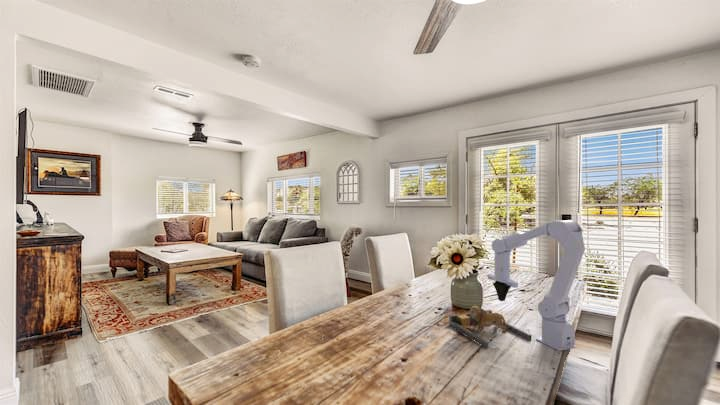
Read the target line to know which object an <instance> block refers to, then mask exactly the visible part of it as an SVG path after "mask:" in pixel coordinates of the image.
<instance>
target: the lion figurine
mask: <svg viewBox="0 0 720 405" xmlns="http://www.w3.org/2000/svg"><path fill="white" fill-rule="evenodd" d="M469 313H470V315H471V317H472V318H474V319H475V321H477V322H479V323H478V325H477V328H478V327H481V328H479V331H482V330H483V331H484V329H485V325H484V323H485V322H488V323H491V322H492V323H493V322H494V321H496V324H495V325H496V326H493V329H494V330H498V329H499V327H500V328H502V331H501V333H507V331H509V328H507V327H506V323H507V322H506V320H505V319H506V318H504V316H503V315H502V314H501V313H497V312H492V313H487V312H485V309H484V308H481V307H479V306H477V305H473V306H471V307H470V310H469ZM502 321H503V322H504V324H503V322H502ZM505 322H506V323H505ZM504 325H505V326H504Z"/></svg>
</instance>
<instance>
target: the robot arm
mask: <svg viewBox="0 0 720 405" xmlns="http://www.w3.org/2000/svg"><path fill="white" fill-rule="evenodd" d="M583 231H584V229H583V228H582V227H581V225H580V224H579V223H578V222H577V221H576V220H573V219H567V220H556V219H555V220H552V221H550V222H545V223H543V224H540V225H538V226H536V227H534V228H531V229H530V230H527V231H524V232H523V231H517V230H515V231H512V232H511V234H509V235H503V236H502V238H495V239H494V240H493V241H492V242H491V249H492V250H493V252H494V274H492V273H491V274H487V280H491V281H495V282H492V285H493V287H494V289H495V291H496V295H497V298H498V301H500V302H505V301H506V298H507V295H508V293H509V291H510V289H511V287H512V288H519V282H517V281H516V280H513V279H512V278H511V277H510V275H511V274H510V272H511V267H510V264H511V263H510V262H511V259H510V258H511V252H512V251H513V250H516V249H518V248H521V247H524V246H526V245H527V243H528V241H531V240H534V239H536V238H537V239H538V238H541V237H543V236H550V237H551V238H553V239H554V241H556V243H558V244H560V247H562V248H563V253H562V256H561V259H560V261H559V264H558V267H557V269H556V272H555V275H554V277H553V278H554V279H553V281H552V284H551V286H550V289H549V290H548V292H547V293H546V294H544V296H543V299H542V300H541V301H539V303H538V304H537V311H538V313H539V314H540V316H541V336H539V337H536V338H535V340H536V341H538V342H540V343H543V344H544V345H547V346H548V347H551V348H553V349H555V350H556V351H560V352H562V351H561V350H563V351H567V350H573V349H576V348H577V346H576V345H575V343H576V341H575V340H576V338H575V336H576V334H575V331H576V330H575V327H574V326H573V324H571V323H569V322H568V321H567V318H566V317H567V314H569V312H570V301H571V298H570V297H569V293H570V291H571V288H572V285H573V282H574V280H575V277H576V274H577V273H578V269H579V267H580V264H581V262H582V259H583V255H584V253H585V250H586V247H585V241H584V237H583Z"/></svg>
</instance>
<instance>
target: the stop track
mask: <svg viewBox="0 0 720 405" xmlns="http://www.w3.org/2000/svg"><path fill="white" fill-rule="evenodd" d="M484 311H485V312H487V313H493V311H492V310H490V309H486V310H485V309H484ZM502 322H503V320H502ZM470 323H472V324H477V321H475V319H474V318H472V317H471V315H470V312H465V313H455V314H449V315H448V326H450V325H451V326H453V327H454V328H456V329H457V330H459V331H460V332H459V331H458V332H459V333H461V332H462V333H464V334H465V335H467V336H468V337H470V338H471V339H473V340H475V341H476V342H478V343H479V344H481V345H482V346H484V347H485V348H484V347H483V348H484V349H488V348H487V347H489V341H487V340H485V339H484V338H482V337H481V336H479V335H477V334H476V333H474V332H472V331H470V330H469V329H468V328H466V327H470V328H471V324H470ZM505 323H506V327H507V328H509V330H508V331H509V332H511V333H513V334H514V335H517V336H518V337H521V338H523V339H525V340H527V341H528V342H530V341H532V334H531V333H529V332H526V331H524V330H522V329H521V328H518V327H516V326H514V325H512V324H510V323H507V322H506V321H505ZM493 324H495V325H497V324H496V321H494V322H491V323H488V322H485V323H484V326H490V325H493ZM503 324H504V322H503ZM451 326H450V327H451ZM504 326H505V325H504ZM453 327H452V328H453ZM454 328H453V329H454ZM456 329H455V330H456ZM457 330H456V331H457ZM462 333H461V334H462ZM464 334H463V335H464ZM465 335H464V336H465ZM467 336H466V337H467ZM468 337H467V338H468ZM470 338H469V339H470ZM471 339H470V340H471ZM473 340H472V341H473ZM475 341H474V342H475ZM476 342H475V343H476ZM478 343H477V344H478ZM479 344H478V345H479ZM481 345H480V346H481ZM482 346H481V347H482Z"/></svg>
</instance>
